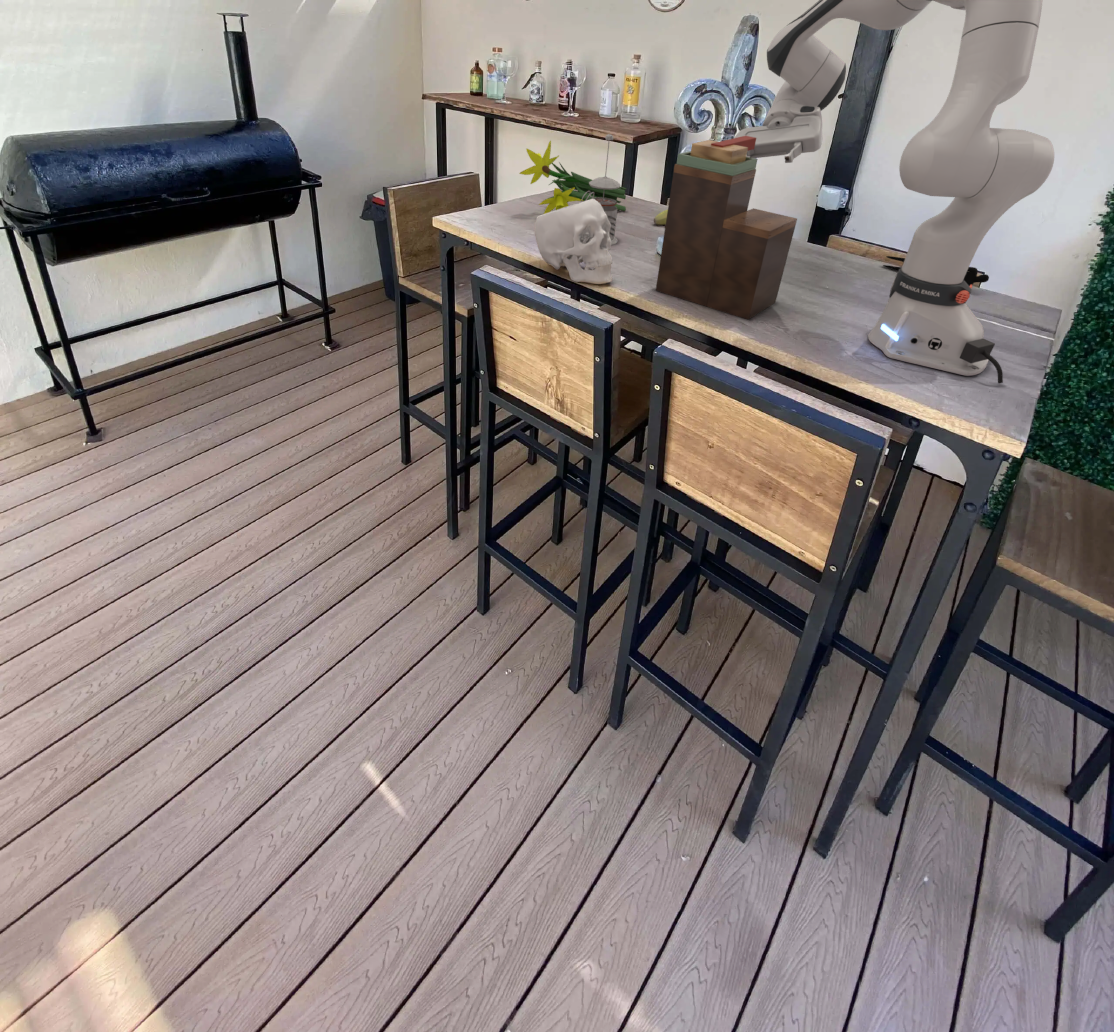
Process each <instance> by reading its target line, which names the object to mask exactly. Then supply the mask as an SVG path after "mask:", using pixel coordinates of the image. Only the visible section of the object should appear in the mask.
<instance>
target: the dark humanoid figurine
mask: <svg viewBox="0 0 1114 1032" xmlns="http://www.w3.org/2000/svg"><path fill="white" fill-rule="evenodd" d="M885 258H887V259H890V260H893V261H898V262H901V263H904V260H905V258H906V257H899V256H892V255H891V256H890V255H886V256H885ZM882 267H884V268H886V269H890V270H894V271H897V272H898V270H899V269H900V268H901V267H902V266H894V265H888V264H883V265H882ZM978 272H979V271H978V268H977V267H973V266H969V268H968V270H967V272H966V275H965V277H964V279H963V280H964V281H965V282H966V283H967V284H968V285H969V286H970V285H971V284H972V286H973V285H974V284H975V283H987V282H988V281H989V279H990V275H988V274H980V275H978Z"/></svg>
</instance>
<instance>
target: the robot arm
mask: <svg viewBox="0 0 1114 1032" xmlns="http://www.w3.org/2000/svg"><path fill="white" fill-rule="evenodd" d="M932 2H935V3H938V4H941V5H943V6H947V7H950V8H952V9H955V10H959V11H965V17H964V23H963V27H962V33H961V37H960V44H959V49H958V55H957V61H956V64H955V65H956V66H955V69H954V74H953V79H952V83H951V87H950V90H949V92H948V95H947V97H946V99H945V102H944V103H943V105H942V107H941V109H940V110H939V111H938V113H937V115H936V116H935V117H934V118H933V119H932V120H931V121H930V122H929V123H928V124H927V125H926V126H925V127H924V128H922V129H920V130H919V131H918V132H916V134H914V135H913V136H912V138H911V139H910V140H909V141H908V142H907V144H906V145H905V147H904V149H903V151H902V152H901V156H900V160H899V165H898V166H899V167H898V169H899V177H900V181H901V183H902V185H903V186H904V188H905V189H907V190H910V191H912V192H915V193H918V194H922V195H925V196H929V197H941V198H942V197H943V198H953V200H952V201H951V202H950V203H949V205H948V206H947V207H946V208H945V209H943V210H942V211H941V212H939V213H938V214H936V215H934V216H932V217H930V218H927V219H926V220H924V221H922V223H921V224H919V226H918V227H917V228H916V230H915V231H914V233H913V236H912V239H911V241H910V244H909V247H908V249H907V252H906V255H905V257H904V258H905V260H904V262H902V266H900V267H901V268H900V269H899V270H898V271H897V272H896V274H895V276H894V279H893V282H892V285H891V287H890V290H889V292H890V293H889V295H888V296H889V297H888V300H887V303H886V305H885V307H884V308H883V310H882V312H881V314H880V316H879V318H878V320H877V321H876V323H875V325H874V326H873V328H871V330H870V332H869V333H868V335H867V338H868V340H869V342H870V343H871V344H872V345H874V346H875V347H876V348H877V349H879V350H881V351H882V353H883V354H884V355H885V356H886V357H887V358H890V359H892V360H898V361H901V362H906V363H910V364H914V365H919V366H923V367H927V368H931V369H935V370H940V371H944V372H947V373H952V374H957V375H961V376H965V377H970V376H976V375H979V374H981V373H982V372H984V370H986V368H987V366H988V363H989V362H990V363H991V364H992V365H993V367H994V368H995V370H996V373H997V384H1002V383H1004V372H1003V369H1002V367H1001V365H1000V363H999V362H998V361H997V359H996V358H994V357H993V356H992V355H991V353H992V352H993V349H994V347H995V345H996V343H995V342H992V341H990V340H988V339H985V338H984V336H985V330H984V326H983V324H982V323H981V321H980V320H979V319H978V318H977V316H976V315H975V314H974V313H973V311H972V310H971V308H970V307H969V305H967V302H968V300H969V298H970V295H971V293H972V289H973V285H972V284H971V285H970V286H969V285H968V284H967V283H966V282H965V281H964V280H963V279H964V277H965V275H966V272H968V271H967V270H968V268H969V267H971V266H970V265H971V264H972V261H973V259H974V257H975V256H976V253H977V251H978V249H979V247H980V245H981V243H982V241H983V240H984V238H985V236H986V235H987V233H988V232H989V231H990V229H992V227H993V226H994V225H995V224H996V223H997V222H998V220H1000V218H1001V217H1002V216H1003V215H1004V214H1006V213H1007V211H1009V209H1011V208H1012V207H1013V206H1014V205H1015V204H1017V203H1019V202H1020V201H1021V200H1023V199H1025V198H1027V197H1029V196H1030V195H1033V194H1034V193H1035V192H1037V191H1038V190H1039V189H1040V188H1041V187H1042V186H1043V185H1044V184H1045V182H1046V181H1047V180H1048V178H1049V176H1050V174H1051V172H1052V169H1053V167H1054V163H1055V149H1054V145H1053V143H1052V141H1051V140H1050V139H1049V138H1048V137H1046V136H1043V135H1041V134H1038V133H1035V132H1032V131H1028V130H1026V129H1016V128H1015V129H1014V128H999V127H990V124H991V119H992V116H993V114H994V112H995V109H996V108H997V107H998V106H999V105H1001V104H1003V103H1005V102H1006V101H1008V100H1010V99H1012V98H1014V96H1016V95H1017V94H1018V93H1020V91H1021V90H1022V89H1023V88H1024V87H1025V85H1026V84H1027V82H1028V81H1029V78H1030V74H1031V69H1032V63H1033V59H1034V53H1035V49H1036V45H1037V44H1036V43H1037V37H1038V34H1039V28H1040V23H1041V16H1042V8H1043V0H818V1H817V2H815V3H814V4H813V5H812V6H811V7H809V8H808V9H806V11H805V12H803V13H802V14H801V15H800V16H798V17H796V18H795V19H793V20H792V21H791V22H789V23H787V25H786V26H784V27H783V28H781V29H780V30H779V31H778V32H777V33H776V34H775V36H774V37H773V38H772V40H771V41H770V43H769V45H768V47H767V50H766V61H767V62H766V63H767V68H768V70H769V71H771V73H773V74H775V75H776V76H777V77H779V78H781V79H782V80H784V83H783V84H781V86H780V88H779V89H778V91H777V93H776V95H775V97H774V99H773V101H772V105H771V106H770V108H769V110H768V112H767V114H766V116H765V118H764V120H763V123H762V125H758V126H752V127H746V128H742V129H741V130H739V131H738V132H737V133H736V134H735V136H734V137H733V138H738V137H742V136H750V137H755V138H756V142H755V147H754V149H753V150H749V151H747V155H746V157H750V158H755V159H760V158H769V157H779V156H784V163H785V164H790V163H793V162H794V160H795V159H796V158H797V157H799V156H800V155H801V154H805V153H815V152H817V151H819V150H820V149H821V147H822V144H823V116H822V111H823V110H825V109H826V108H827V107H828V106H829V105H830V104H831V103H832V102H833V101H834V100H835V98H836V97H837V95H838V94H839V92H840V90H841V88H842V87H843V85H844V83H845V80H846V74H847V65H846V62H844V60H842V59H841V58H840V56H839V55H838V54H836V53H835V52H834V51H833V50H832V49H830V48H829V47H828V46H827V45H825V43H823V42H822V41H821V40H820V39H819V38H818V37H816V36H815V34H816V33H818V31H820V30H821V29H822V28H824V27H825V26H826V25H827V24H828V23H830V22H831V21H833V20H836V19H845V20H849V21H850V20H851V21H854V22H857V23H859V24H863V25H865V26H867V27H869V28H871V29H874V30H879V31H890V30H891V31H892V30H897V29H900V28H901V27H904V26H906V25H907V24H909V22H911V21H912V20H913V19H914V18H916V17H917V16H918V15H919V14H920V13H921V12H922V11H924V9H926V8H927V7H928V5H930V4H931V3H932Z"/></svg>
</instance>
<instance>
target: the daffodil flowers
mask: <svg viewBox="0 0 1114 1032" xmlns="http://www.w3.org/2000/svg"><path fill="white" fill-rule="evenodd" d="M525 150H526V153H527V156H528V157H529V159H530V160H531V161H532V163H533V164H534V165H531V166H530V167H528V168H526V169H524V170H521V171H520V172H518V174H519V175H524V176H529V175H530V176H531V175H533V176H532V178H531V180H530V185H533V184H535V183H536V182H537V181H539V180H540V179H541V177H542V176H543V177H545V178H547V179H548V178H549V177H550V176H551V177H554V178H557V179H554V178H553V180H551V182H550V183H549V184H548V186H550V185H552V184H556V186H557V187H554V188H553V195H552V196H550V197H548V198H545V199H543V200H542V201H541V202H540V203H538V206H543V205H547V206H546V207H545V209H544V212H543V214H546V213H549V212H552V211H554V209H555V210H558V209H561V208H564V207H567V206H570V205H569V203H571V202H581V200H582V197H583V195H584V194H585V193H586V192H587V191H590V192H591V193H592V192H594V193H592V194H591V196H592V197H593V194H594V197H593V198H595V197H597V198H598V197H599V198H600V197H603V193H604V198H608V199H613V200H616V201H617V204H616V205H613V206H615V207H617V211H622V212H626V211H627V208H626V206H625V205H621V204H620V203H621V202H622V201H621V200H618V199H622V200H626V198H627V196H626V190H627V188H626V187H623V186H620V188H618V189H610V190H607V189H605V191H604V189H597V188H593V187H591V186H590V185H589V182H590V181H592V180H593V179H592V178H588V177H586V176H583V175H581V174H578V173H576V172H573V171H570V173H569V172H568V171H567V170H566V169H565V168H564V166H563V165H562V164H561V162H560V161H558V163H559V165H560V167H561V168H560V167H559V166H558V165H556V164H555V163H554V162H555V161H556V160H557V159H558V158H559V157H560V155H556V156H554V157H551V153H552V140H551V139H550V140H549V142H548V144H547V147H546V150H545V151H544V153H543V156H542V154H541V152H535V151H532V150H531V149H529V148H525ZM550 165H552V166H553V168H555V170H556V171H554V170H553V169H551V168H550ZM590 192H587V193H586V194H585V196H584V197H583V200H582V202H583V201H585V200H586V199H587V197H588V195H589V194H590ZM592 197H590V196H589V197H588V199H587V200H590V199H591V198H592Z"/></svg>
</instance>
